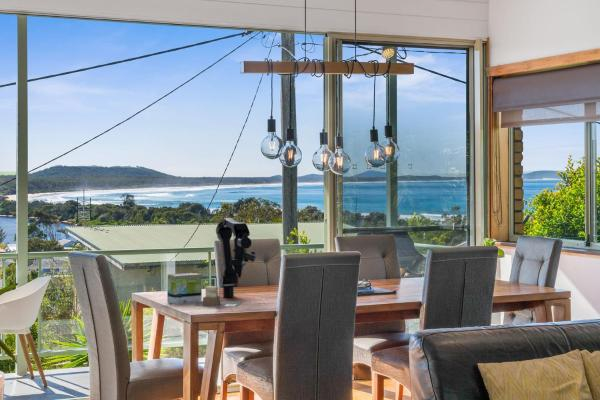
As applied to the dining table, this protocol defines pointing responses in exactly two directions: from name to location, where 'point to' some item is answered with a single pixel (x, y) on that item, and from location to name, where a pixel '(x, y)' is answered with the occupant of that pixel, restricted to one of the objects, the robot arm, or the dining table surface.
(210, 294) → the grey green cube
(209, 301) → the walnut block
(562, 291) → the dining table surface
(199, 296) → the tea box
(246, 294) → the dining table surface
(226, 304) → the build mat
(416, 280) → the dining table surface
